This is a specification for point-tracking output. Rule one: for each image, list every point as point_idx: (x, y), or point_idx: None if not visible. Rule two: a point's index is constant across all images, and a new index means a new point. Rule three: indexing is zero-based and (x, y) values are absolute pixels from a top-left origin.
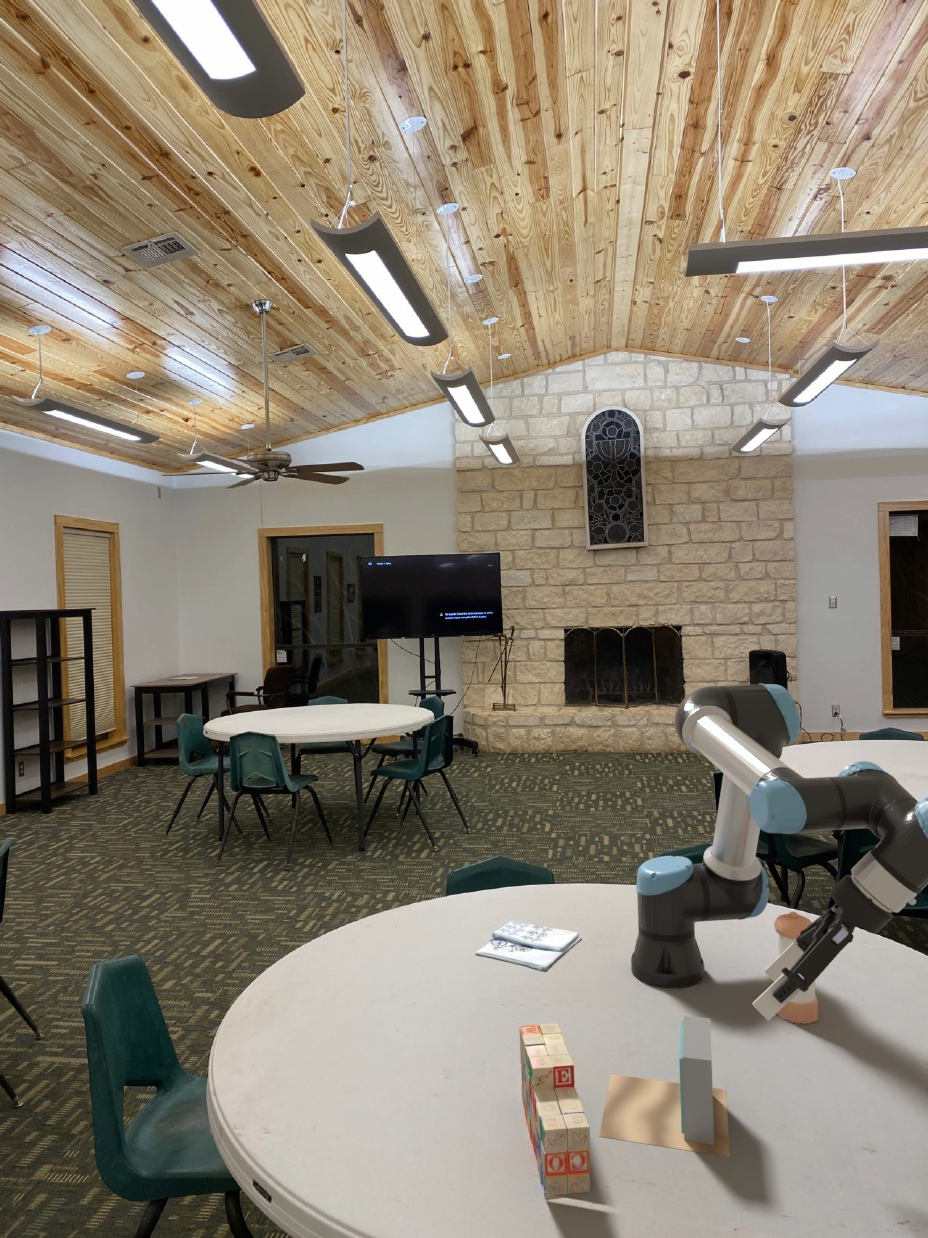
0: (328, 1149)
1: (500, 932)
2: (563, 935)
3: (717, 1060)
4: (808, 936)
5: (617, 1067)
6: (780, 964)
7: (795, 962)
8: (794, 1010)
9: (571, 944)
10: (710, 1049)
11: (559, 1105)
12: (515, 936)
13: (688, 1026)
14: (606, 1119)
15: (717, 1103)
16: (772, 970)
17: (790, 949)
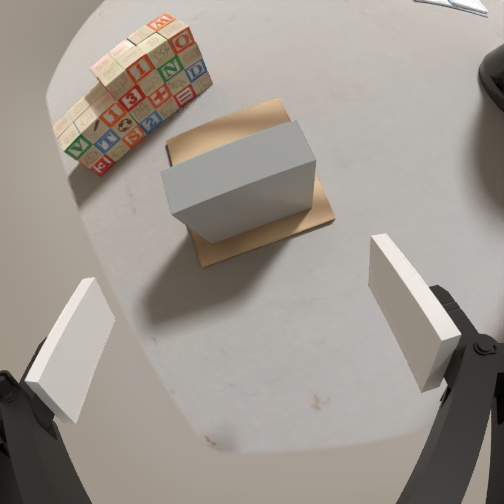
0: (94, 38)
1: None
2: (473, 2)
3: (400, 186)
4: (437, 437)
5: (304, 96)
6: (392, 285)
7: (406, 340)
8: None
9: (470, 10)
10: (204, 199)
11: (84, 111)
12: None
13: (263, 139)
14: (195, 131)
15: (297, 218)
16: (379, 260)
17: (424, 324)
